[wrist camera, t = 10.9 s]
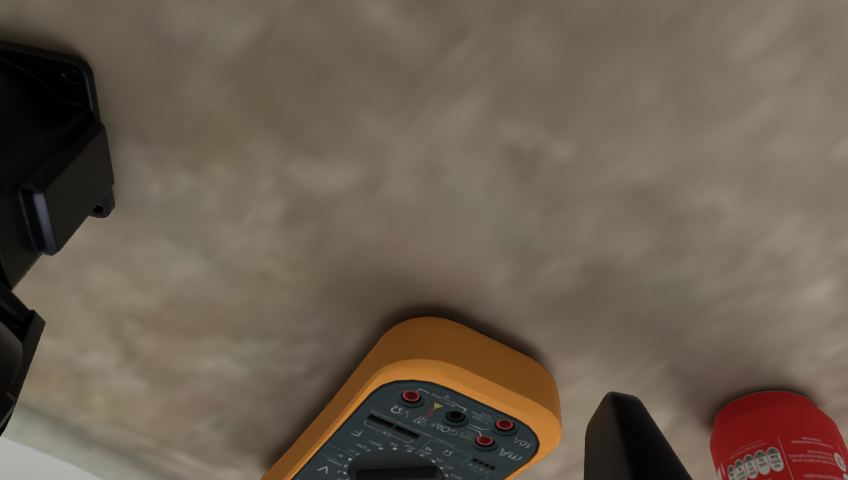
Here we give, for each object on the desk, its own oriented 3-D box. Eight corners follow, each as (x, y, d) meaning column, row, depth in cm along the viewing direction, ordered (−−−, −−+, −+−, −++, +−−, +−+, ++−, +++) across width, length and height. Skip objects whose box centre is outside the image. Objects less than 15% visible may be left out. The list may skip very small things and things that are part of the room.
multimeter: (581, 368, 29) (589, 437, 26) (389, 522, 39) (380, 581, 37) (412, 285, 26) (401, 351, 24) (257, 472, 37) (237, 531, 34)
